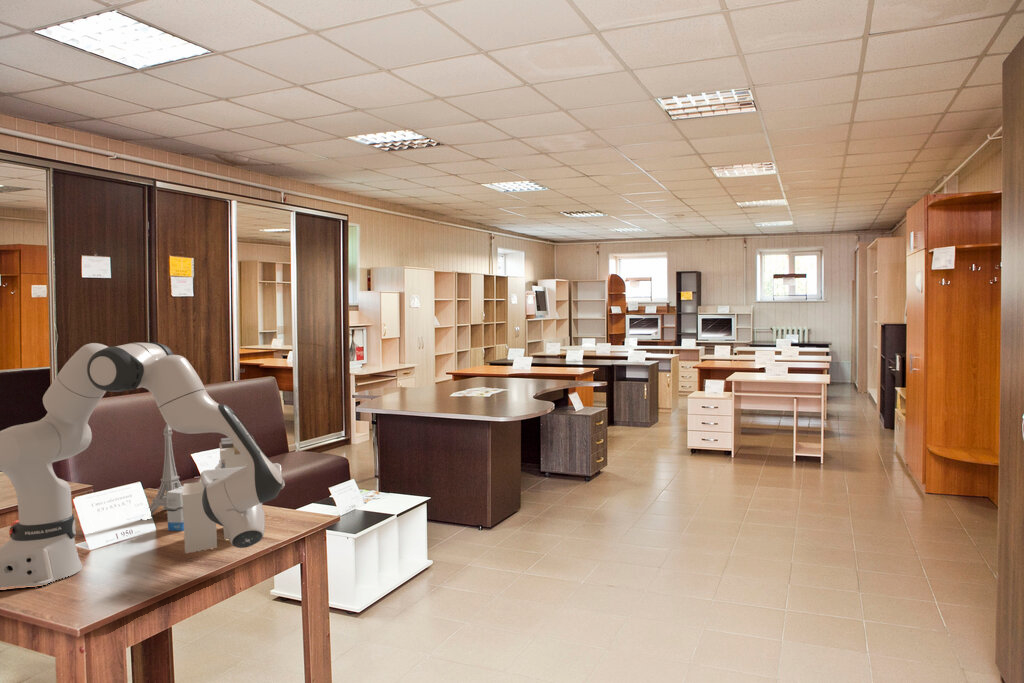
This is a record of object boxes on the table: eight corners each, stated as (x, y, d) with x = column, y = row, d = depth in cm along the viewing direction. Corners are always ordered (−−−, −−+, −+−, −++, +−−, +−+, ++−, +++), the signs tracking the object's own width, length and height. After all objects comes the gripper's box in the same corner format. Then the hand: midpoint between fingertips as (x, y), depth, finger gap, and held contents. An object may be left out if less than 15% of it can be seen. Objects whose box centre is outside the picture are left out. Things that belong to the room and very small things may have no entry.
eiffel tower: (139, 520, 217) (134, 427, 216) (167, 508, 230) (163, 420, 229) (176, 521, 215) (171, 427, 213) (202, 509, 228) (198, 420, 227)
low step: (185, 553, 184) (182, 495, 184) (186, 538, 197) (183, 483, 197) (217, 548, 188) (214, 491, 187) (216, 534, 200) (213, 480, 200)
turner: (221, 442, 206) (220, 433, 206) (252, 439, 210) (252, 430, 210) (222, 455, 185) (222, 446, 185) (258, 452, 189) (257, 443, 189)
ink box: (181, 531, 204) (179, 492, 203) (167, 531, 205) (165, 492, 204) (200, 522, 212) (198, 485, 212) (186, 522, 213) (184, 485, 213)
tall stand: (224, 540, 194) (220, 450, 193) (223, 527, 207) (219, 442, 206) (261, 535, 198) (257, 447, 197) (258, 522, 211) (254, 439, 210)
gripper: (286, 480, 179) (280, 447, 189) (200, 490, 170) (199, 454, 181) (285, 498, 182) (280, 464, 192) (201, 508, 173) (200, 472, 184)
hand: (240, 459), depth 187 cm, fingers open, 8 cm apart
